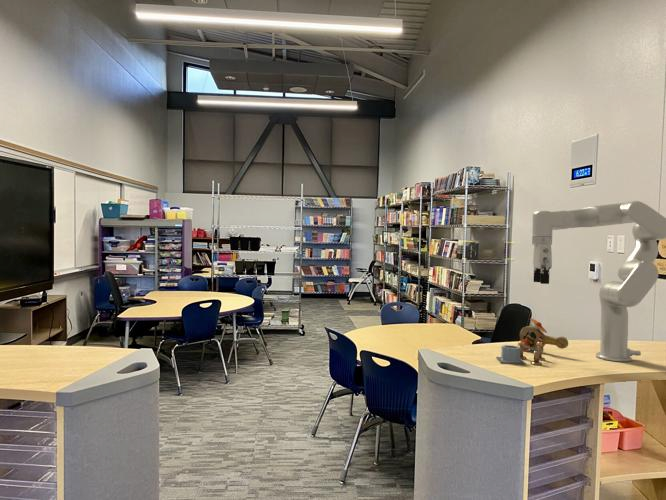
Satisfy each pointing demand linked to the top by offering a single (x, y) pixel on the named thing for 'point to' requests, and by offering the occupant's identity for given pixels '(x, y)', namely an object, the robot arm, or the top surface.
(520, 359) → the pad
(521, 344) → the brown legged frame
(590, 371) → the top surface
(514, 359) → the blue-grey block
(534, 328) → the toy helicopter
